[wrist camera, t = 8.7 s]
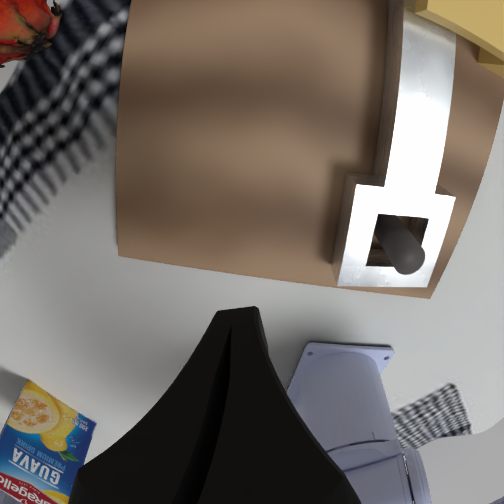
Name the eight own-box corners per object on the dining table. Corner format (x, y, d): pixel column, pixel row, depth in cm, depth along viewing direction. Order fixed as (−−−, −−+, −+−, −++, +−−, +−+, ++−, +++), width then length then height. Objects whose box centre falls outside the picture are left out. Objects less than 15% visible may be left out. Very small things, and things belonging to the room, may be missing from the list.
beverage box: (81, 432, 37) (46, 555, 18) (19, 392, 34) (-31, 515, 15) (97, 423, 35) (59, 564, 16) (27, 378, 31) (-31, 520, 12)
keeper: (504, 78, 13) (551, 89, 9) (388, 21, 12) (426, 9, 8) (509, 38, 11) (556, 42, 7) (394, -24, 11) (432, -45, 7)
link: (415, 269, 20) (426, 287, 18) (330, 266, 20) (337, 286, 18) (459, 9, 11) (478, 5, 9) (361, -22, 11) (373, -33, 9)
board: (424, 290, 22) (451, 336, 18) (123, 248, 21) (94, 293, 16) (504, 34, 12) (555, 37, 8) (152, -59, 10) (120, -92, 6)
